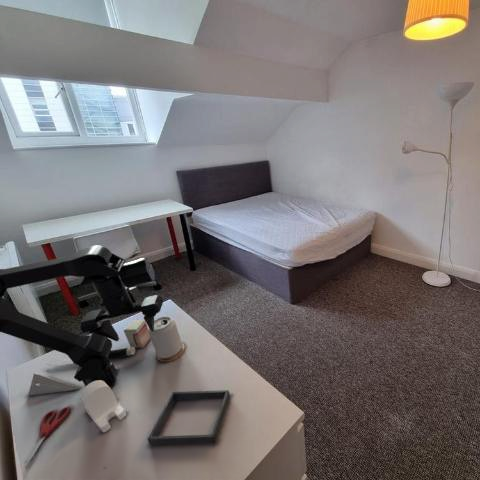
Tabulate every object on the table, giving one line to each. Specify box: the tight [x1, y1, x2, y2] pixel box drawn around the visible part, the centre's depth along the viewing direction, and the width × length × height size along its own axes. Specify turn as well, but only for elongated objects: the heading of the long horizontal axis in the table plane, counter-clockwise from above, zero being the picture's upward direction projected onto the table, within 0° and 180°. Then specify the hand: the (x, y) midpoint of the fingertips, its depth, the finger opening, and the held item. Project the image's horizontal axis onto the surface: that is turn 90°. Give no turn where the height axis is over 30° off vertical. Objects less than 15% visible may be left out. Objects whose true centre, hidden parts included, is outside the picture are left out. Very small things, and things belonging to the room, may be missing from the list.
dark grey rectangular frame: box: [147, 389, 231, 447], centre depth 67 cm, size 15×12×2 cm
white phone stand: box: [79, 380, 127, 433], centre depth 68 cm, size 5×10×10 cm, turn 58°
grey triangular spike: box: [27, 372, 80, 396], centre depth 79 cm, size 6×5×13 cm
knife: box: [45, 347, 136, 367], centre depth 86 cm, size 26×2×5 cm
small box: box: [123, 319, 151, 349], centre depth 91 cm, size 5×4×8 cm
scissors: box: [23, 406, 72, 469], centre depth 65 cm, size 5×14×1 cm, turn 17°
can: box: [148, 315, 183, 358], centre depth 86 cm, size 8×8×12 cm
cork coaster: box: [156, 342, 186, 363], centre depth 88 cm, size 8×8×1 cm
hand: (135, 335), depth 78 cm, fingers open, 9 cm apart
